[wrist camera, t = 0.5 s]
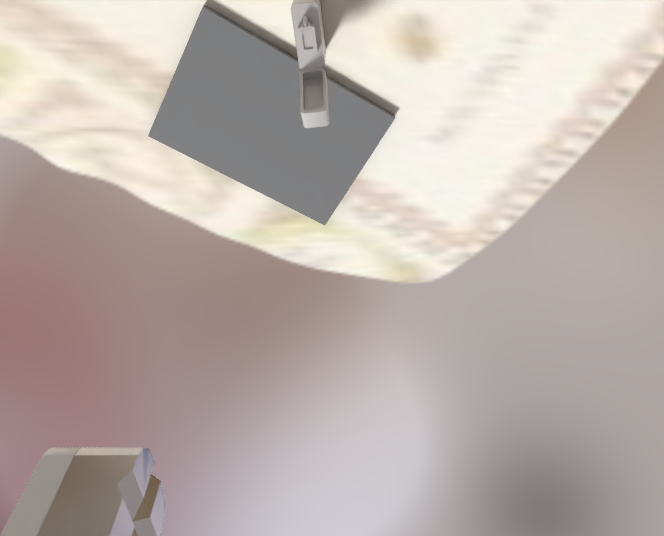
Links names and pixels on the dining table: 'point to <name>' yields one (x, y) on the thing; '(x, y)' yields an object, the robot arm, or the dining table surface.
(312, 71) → the lighter
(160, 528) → the robot arm
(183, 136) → the mat
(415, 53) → the dining table surface
